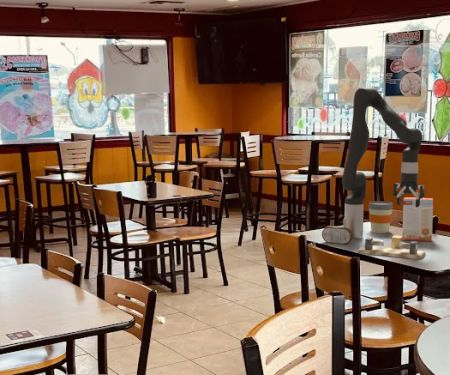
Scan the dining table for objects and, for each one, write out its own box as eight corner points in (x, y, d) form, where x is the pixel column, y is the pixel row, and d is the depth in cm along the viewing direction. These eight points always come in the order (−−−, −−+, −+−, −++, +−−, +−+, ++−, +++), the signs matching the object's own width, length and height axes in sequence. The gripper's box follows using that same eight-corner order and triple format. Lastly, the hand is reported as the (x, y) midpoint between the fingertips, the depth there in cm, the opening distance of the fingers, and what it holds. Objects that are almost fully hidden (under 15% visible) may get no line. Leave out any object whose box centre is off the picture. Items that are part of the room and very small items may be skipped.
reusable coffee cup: (394, 233, 360) (395, 204, 358) (370, 233, 361) (371, 204, 359) (389, 228, 373) (390, 201, 371) (365, 228, 373) (366, 201, 371)
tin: (353, 244, 334) (353, 227, 333) (351, 245, 332) (351, 228, 330) (322, 241, 341) (323, 224, 340) (320, 242, 338) (321, 225, 337)
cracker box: (432, 239, 345) (433, 197, 342) (431, 241, 339) (433, 199, 337) (403, 237, 350) (404, 196, 347) (402, 240, 344) (403, 198, 341)
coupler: (400, 250, 320) (400, 238, 319) (391, 249, 322) (391, 237, 321) (402, 248, 325) (403, 236, 324) (394, 247, 326) (394, 235, 326)
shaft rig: (358, 253, 315) (358, 238, 314) (364, 248, 324) (364, 235, 323) (420, 259, 303) (421, 244, 302) (425, 254, 312) (425, 240, 311)
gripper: (391, 171, 322) (390, 205, 324) (421, 173, 313) (420, 208, 316) (397, 169, 328) (396, 203, 330) (427, 172, 319) (426, 206, 322)
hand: (408, 206), depth 323 cm, fingers open, 8 cm apart
